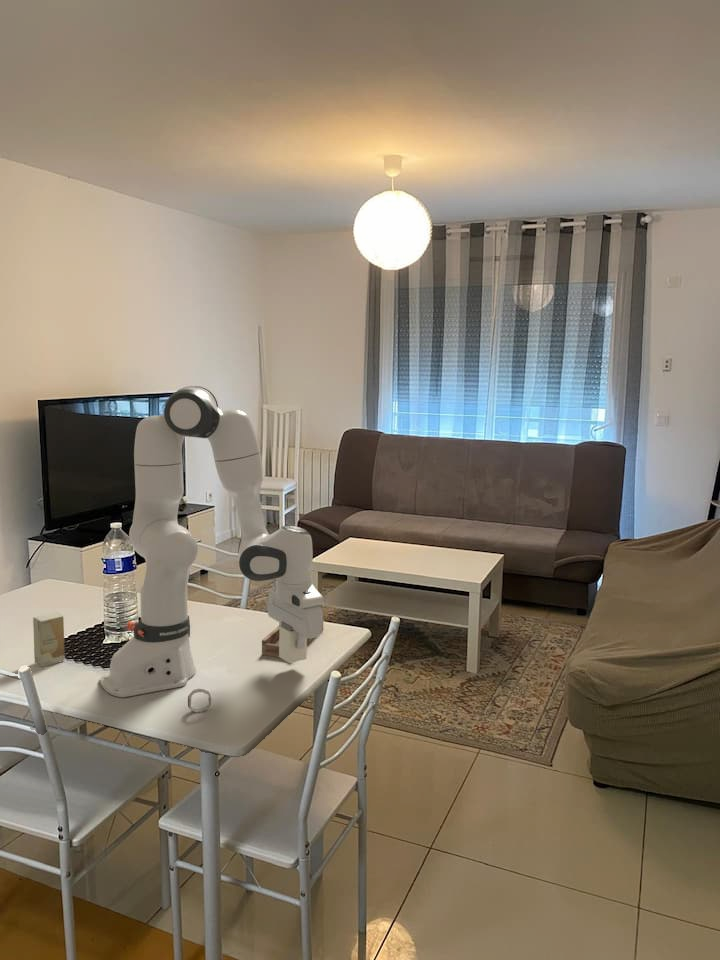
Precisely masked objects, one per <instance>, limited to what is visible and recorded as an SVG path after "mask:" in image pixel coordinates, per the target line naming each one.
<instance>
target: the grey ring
mask: <svg viewBox="0 0 720 960" xmlns="http://www.w3.org/2000/svg"><path fill="white" fill-rule="evenodd" d="M197 693H203V694H206V695H208V704H207V705H206V706H204V707H202V708H199V709H198V708H197V709H195V708H194V707H192V706H191V705H192V696H193V695H194V694H197ZM211 704H212V696H211V693H210V692H209V690H206V689H203V688H195V689H193V690H192V691H191V692H190V693H189V694H188V696H187V708H188V710H190V711H192V712H193V713H196V714H197V713H198V712H200V713H203V712H205V711H207V710H208V709H209V708H210V707H211ZM198 714H199V713H198Z"/></svg>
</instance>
